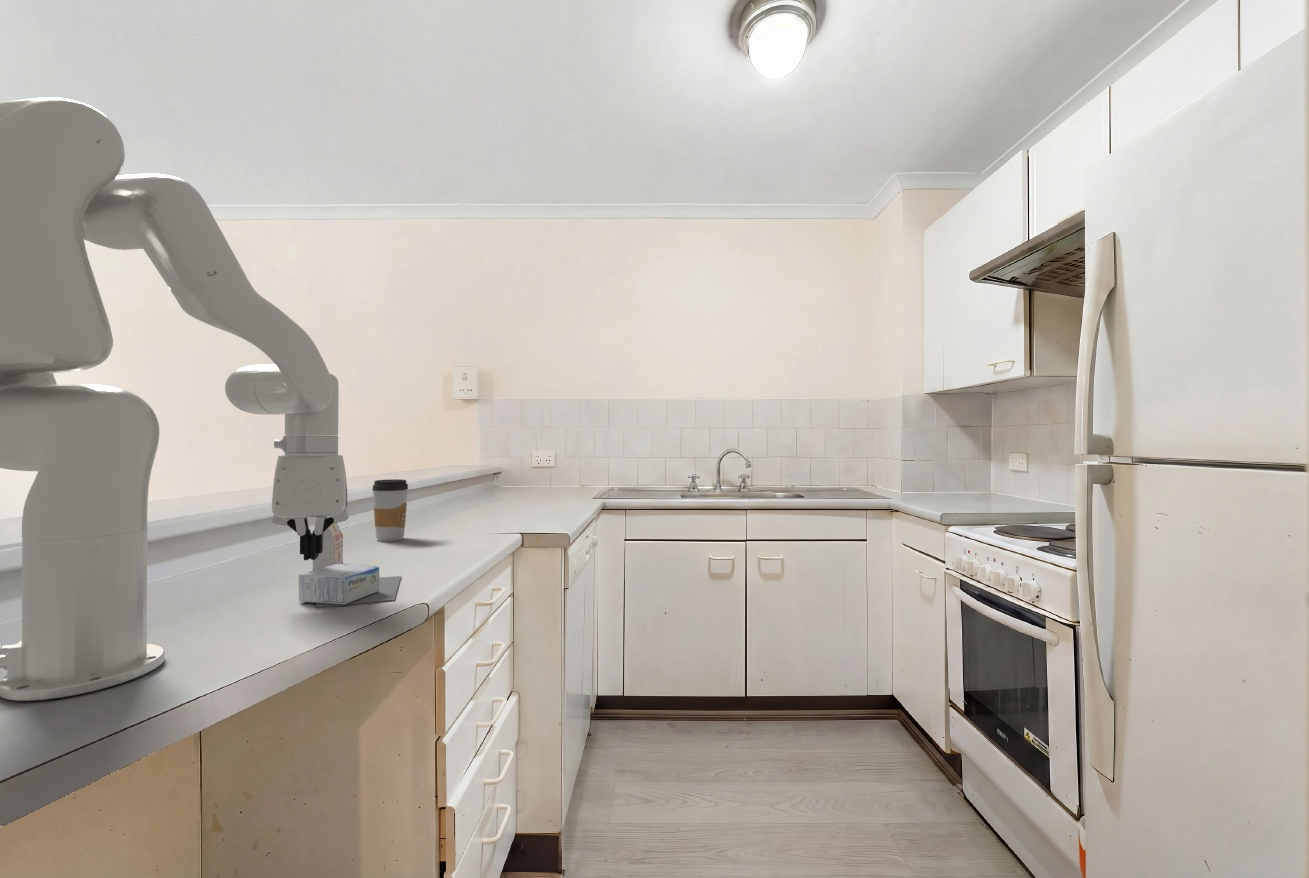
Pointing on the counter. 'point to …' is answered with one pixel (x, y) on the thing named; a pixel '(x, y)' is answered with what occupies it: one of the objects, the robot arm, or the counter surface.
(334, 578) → the medicine box
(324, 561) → the small milk carton
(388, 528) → the coffee cup
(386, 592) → the mat
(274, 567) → the counter surface
